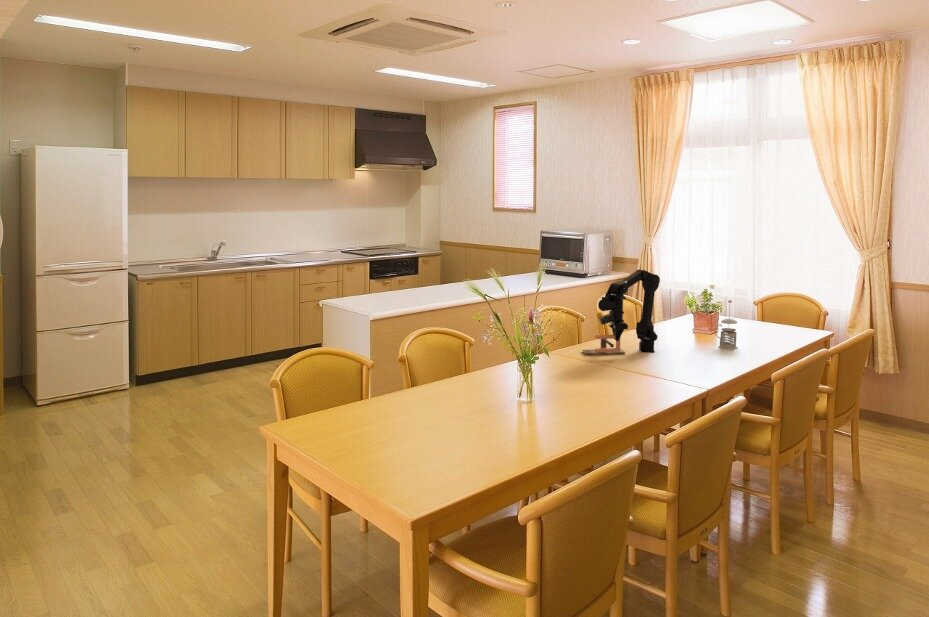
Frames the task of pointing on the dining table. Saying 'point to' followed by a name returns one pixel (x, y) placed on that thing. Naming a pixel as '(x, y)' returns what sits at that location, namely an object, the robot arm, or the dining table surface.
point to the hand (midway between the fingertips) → (616, 340)
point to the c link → (608, 348)
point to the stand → (603, 345)
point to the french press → (730, 332)
